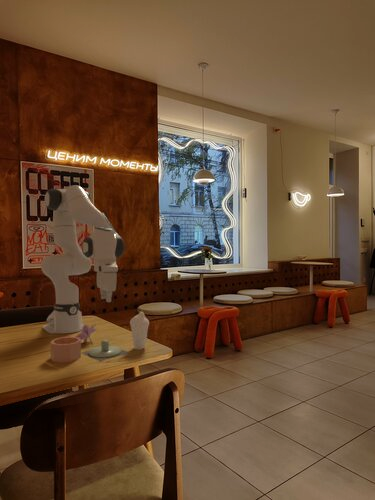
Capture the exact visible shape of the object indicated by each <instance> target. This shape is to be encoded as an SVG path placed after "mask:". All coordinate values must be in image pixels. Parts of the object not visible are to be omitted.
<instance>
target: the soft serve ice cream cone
mask: <svg viewBox="0 0 375 500" xmlns="http://www.w3.org/2000/svg"><path fill="white" fill-rule="evenodd" d="M129 325H130V329H131V338H132V342H133V343H132V344H133V347H134V349H135V350H143V348H144V349H145V347H146V342H147V338H148V330H149V325H150V321H149V319H148V318H147V317H146V315H145V313H144V312H143V311H139V313H138V314H136V315H135V316H133V317H132V318H130V320H129Z"/></svg>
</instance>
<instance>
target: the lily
mask: <svg viewBox="0 0 375 500" xmlns="http://www.w3.org/2000/svg"><path fill="white" fill-rule="evenodd" d="M83 325H84V326H83V328H82V330H80V331H81V332H80V333H79V334H77V335H76V336H74V337H78V338H80V339H81V341H82V340H83V341H84V342H88V340H89V341H90V343H91V345H94V344H93V341H92V339H91V338H90V337H91V334H92V333H94V332H96V331H97V328H95V326H96V325H97V323H94V324H93V325H91V326H89V325H88V324H87V323H86V324H85V323H84V324H83Z"/></svg>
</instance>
